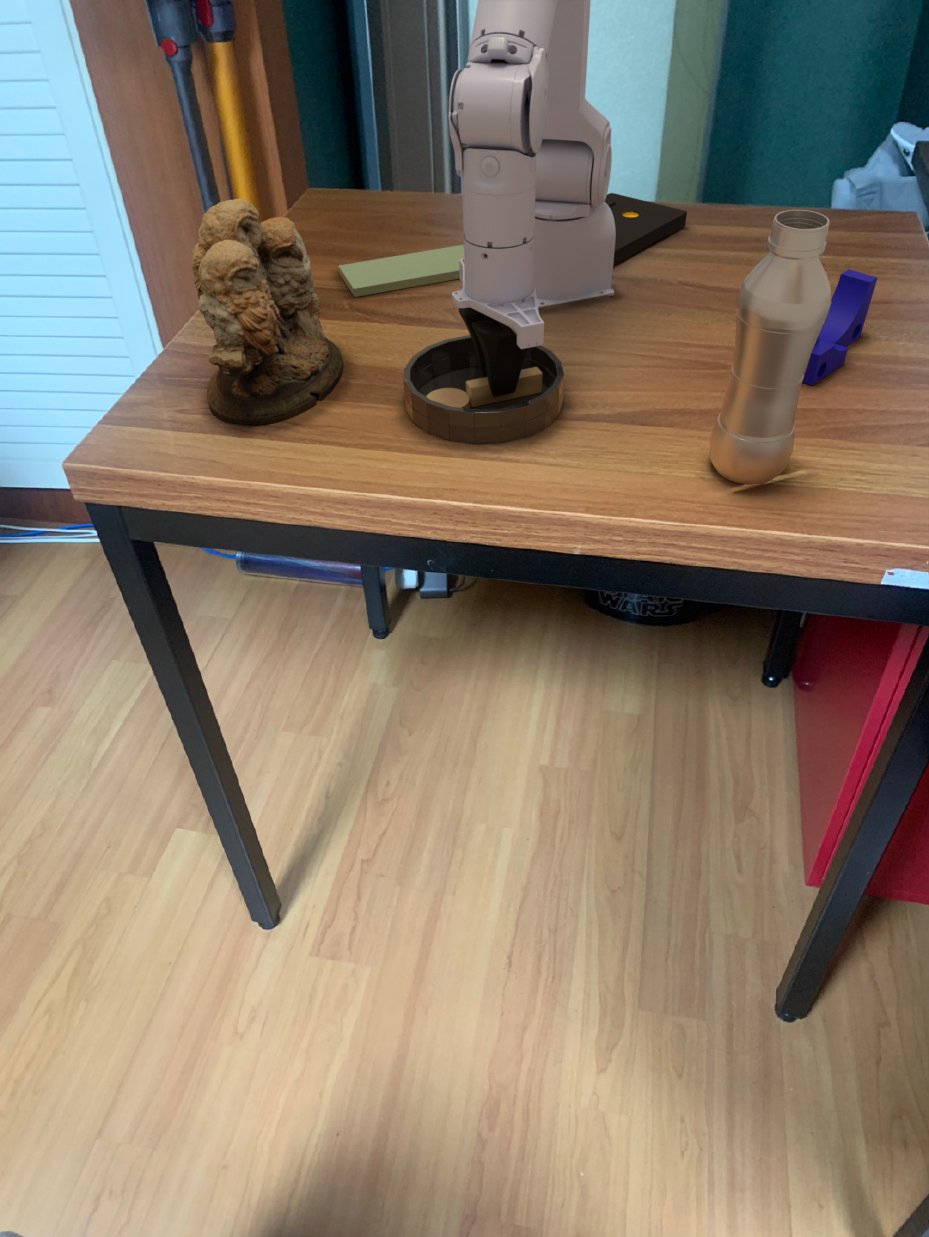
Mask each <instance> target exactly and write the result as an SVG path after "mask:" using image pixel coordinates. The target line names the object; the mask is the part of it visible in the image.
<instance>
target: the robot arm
mask: <svg viewBox="0 0 929 1237" xmlns="http://www.w3.org/2000/svg"><path fill="white" fill-rule="evenodd" d="M591 1H592V0H477V5H476V11H475V17H474V22H473V28H472V33H471V40H470V44H469V50H468V54H467V61H466V62H467V63H465V67H464V68H463V69H462V68H459V69H457V70H456V71H455V72H454V73H453V77H452V79H451V83H450V90H449V97H448V98H449V99H448V127H449V128H448V129H449V135H450V140H451V144H452V147H453V151H454V160H455V162H454V163H455V164H454V165H455V171H456V176H458V177H460V178H461V191H462V192H461V194H462V197H461V198H462V199H461V200H462V230H463V232H462V233H463V245H464V259H459V274H460V279H459V281H460V282H461V283H462V289H459V290H455V291H452V293H451V302H452V303H453V304H454V306H455V307H456V308H458V314H459V315H460V317H461V319H462V321H463V322H464V325H465V326H466V328H467V331H468V333H469V335H470V336H471V339H472V342H473V345H474V348H475V352H476V356H477V360H478V364H479V369H480V373H481V376H482V378H484V377H488V383H489V387H490V390H491V393H492V394H493V396H494V397H497V396H502V395H506V394H511V393H514V392H515V390H516V387H517V383H518V380H519V376H520V373H521V369H522V366H523V363H524V360H525V357H526V355H527V352H528V350H529V348H530V347H535V346H540V345H541V346H544V344H545V321H544V320H543V319H542V317H541V316H540V311H539V308H545V307H550V306H556V305H560V304H566V303H567V304H568V303H571V302H577V301H582V300H587V299H592V298H597V297H603V296H608V297H613V296H614V295H615V290H614V289H613V288H612V284H613V271H614V265H613V262H614V250H615V239H616V230H615V222H614V217H613V214H612V211H611V209H610V207H609V206H608V205H607V204H606V203H605V200H606V196H607V194H608V192H609V188H610V180H611V179H610V178H611V172H612V158H613V157H612V156H613V154H612V153H613V152H612V151H613V150H612V127H611V126H610V125H611V122H610V121H609V120H608V119H607V117H606V116H605V115H604V114H602V112H600V111H599V110H598V109H597V108H596V107H595V106H593V105H592V104H591V103H590V102H589V100H588V99H587V98H586V87H587V71H588V53H589V34H590V19H591V18H590V17H591Z"/></svg>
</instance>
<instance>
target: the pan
mask: <svg viewBox="0 0 929 1237" xmlns="http://www.w3.org/2000/svg"><path fill="white" fill-rule="evenodd" d="M533 367H538V368H539V370H540V371H541V372H542V373H543V380H542V393H538V394H533V395H528V396H523V397H519V398H514V399H509V400H505V401H500V402H495V403H491V404H486V405H481V406H476V407H471V406H470V409H466V408H458V407H451V406H448V405H445V404H442V403H439V402H436V401H433V400H430V399H429V398H427V397H426V396H427V395H428V394H429V393H430V392H432V391H434V390H437V389H442V388H456V389H460V390H462V391H464V392H466V381H469V380H474V379H479V378H482V376H481V373H480V369H479V364H478V360H477V356H476V352H475V348H474V345H473V342H472V339H471V336H470V334H467V335H462V336H457V337H451V338H447V339H443V340H441V341H438V342H436V343H433V344H430V345H427V346H426V347H424V348H423V349H421V350H420V351H419V352H417V353H416V354H414V355H413V356H412V357H410V359H409V361H408V362H407V363H406V365H405V366H404V368H403V389H404V390H403V391H404V403H405V411H406V413H407V414H408V416H409V418H410V419H411V421H412V423H413V424H415V426H417V427H418V428H419V429H421V430H422V431H424V432H426V433H428V434H430V435H432V436H433V437H436V438H440V439H443V440H446V441H449V442H454V443H455V442H456V443H461V444H469V445H493V444H494V445H495V444H502V443H508V442H513V441H518V440H521V439H525V438H528V437H530V436H533V435H535V434H536V433H539V432H541V431H542V430H544V429H545V428H547V427H548V426H550V425H551V424H552V423H553V422H554V421H555V420H556V419H557V418H558V417H559V415H560V412H561V410H562V407H563V404H564V390H565V370H564V366H563V362H562V361H561V360H560V359H559V357H558V356H557V355H556V354H555V353H554V352H553V351H552V350H550V349H548V348H547V347H545V346H544V345H540V346H535V347H530V348H529V350H528V352H527V355H526V357H525V360H524V363H523V366H522V369H521V370H523V369H528V368H533Z"/></svg>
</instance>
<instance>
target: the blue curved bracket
mask: <svg viewBox="0 0 929 1237" xmlns="http://www.w3.org/2000/svg"><path fill="white" fill-rule="evenodd" d="M877 281H878V276H874V275H870V274H867V273H864V272H861V271H860V272H859V271H856V270H853V269H850V268H849V269H846V270H845V271H843V272H842V273H840V276H839V279H838V282H837V285H836V287H835V290H834V292H833V295H832V296H831V305H830V308H829V311H828V314H827V317H826V319H825V321H824V324H823V326H822V329H821V331H820V333H819V336H818V338H817V341H816V343H815V345H814V348H813V350H812V352H811V355H810V359H809V362H808V365H807V368H806V371H805V373H804V378H803V381H802V383H803V384H806V385H809V386H811V387H812V386H813V385H815V384H817V383H818V382H819V381H821V380H822V379H823V378H825V377H826V376H828V375H829V374H831V373H832V372H834V371H835V370H836V369H837V368H839V367H841V366H842V365H843V364H844V363H845V362H846V358H847V354H848V351H849V347H848V346H849V345H850V344H852V343H853V342H855V341H856V340H858V339H859V338H861V336H862V332H863V328H864V325H865V322H866V319H867V315H868V312H869V310H870V306H871V302H872V298H873V295H874V293H875V292H874V291H875V288H876V285H877Z"/></svg>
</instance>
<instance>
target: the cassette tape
mask: <svg viewBox="0 0 929 1237" xmlns="http://www.w3.org/2000/svg"><path fill="white" fill-rule="evenodd" d="M605 203H606V204H607V205H608V206H609V207H610V209H611V211H612V214H613V217H614V222H615V230H616V239H615V250H614V262H613V266H614V265H616V264H618V263H620V262H622V261H624V260H625V259H628V258H629V257H631V256H633V255H634V254H636V253H638V252H639V251H642V250H644V249H646V248H647V247H649V246H651V245H653V244H654V243H656V242H658V241H660V240H661V239H663V238H665V237H667V236H669V235H670V234H672V233H674V232H676V231H678V230H680V229H682V228H684V227H685V226H686V224H687V216H688V211H687V210H684V209H679V208H676V207H671V206H668V205H664V204H659V203H656V202H651V201H648V200H647V201H646V200H644V199H639V198H635V197H631V196H627V195H622V194H619V193H615V192H610V193H607V196H606V200H605Z"/></svg>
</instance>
